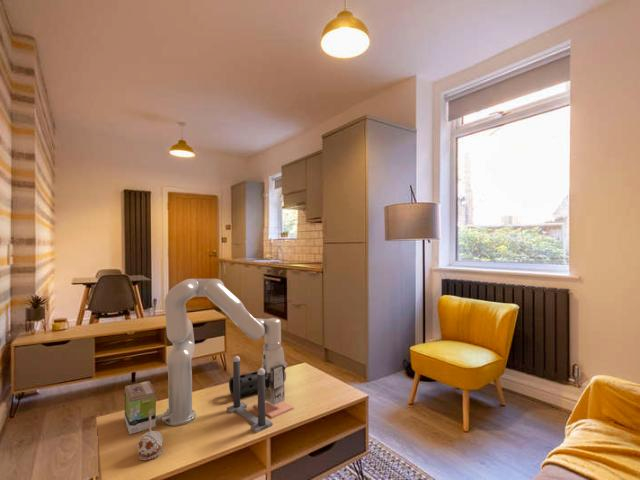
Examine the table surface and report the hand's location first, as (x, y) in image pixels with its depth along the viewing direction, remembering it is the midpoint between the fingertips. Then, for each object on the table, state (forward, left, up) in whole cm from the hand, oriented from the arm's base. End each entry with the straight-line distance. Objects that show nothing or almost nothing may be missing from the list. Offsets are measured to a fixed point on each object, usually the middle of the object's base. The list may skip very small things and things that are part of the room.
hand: (273, 384), depth 153 cm
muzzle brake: (+4, +20, -11) cm, 23 cm away
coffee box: (0, 0, -7) cm, 7 cm away
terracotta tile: (0, 0, -11) cm, 11 cm away
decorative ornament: (-52, +2, -11) cm, 53 cm away
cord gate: (-13, 0, -11) cm, 17 cm away
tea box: (-49, +28, -11) cm, 57 cm away
